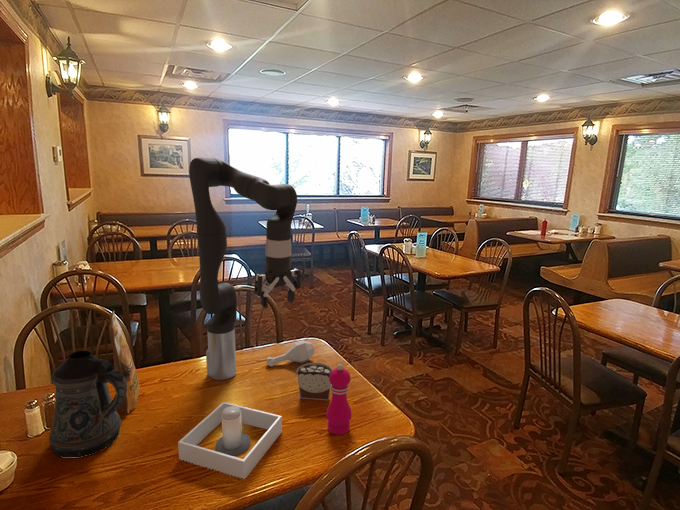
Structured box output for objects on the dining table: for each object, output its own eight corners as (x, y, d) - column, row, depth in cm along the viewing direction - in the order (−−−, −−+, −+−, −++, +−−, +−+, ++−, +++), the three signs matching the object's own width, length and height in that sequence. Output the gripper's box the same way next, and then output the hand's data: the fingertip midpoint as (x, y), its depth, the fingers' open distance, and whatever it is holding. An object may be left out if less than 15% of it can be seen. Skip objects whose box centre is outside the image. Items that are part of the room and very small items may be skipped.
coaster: (208, 451, 107) (208, 449, 107) (228, 431, 115) (228, 429, 115) (238, 460, 104) (238, 458, 104) (256, 438, 113) (256, 436, 112)
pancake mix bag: (110, 419, 119) (100, 330, 113) (119, 386, 137) (111, 307, 131) (136, 415, 122) (127, 327, 116) (142, 383, 139) (134, 305, 133)
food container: (335, 390, 137) (336, 363, 135) (333, 400, 131) (333, 372, 129) (299, 387, 138) (299, 360, 136) (295, 397, 132) (295, 369, 130)
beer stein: (58, 428, 115) (46, 345, 110) (135, 413, 123) (127, 335, 117) (43, 467, 100) (28, 374, 95) (131, 447, 108) (122, 360, 103)
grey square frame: (179, 459, 104) (178, 442, 103) (224, 416, 122) (223, 401, 121) (244, 479, 98) (244, 461, 97) (281, 431, 116) (281, 416, 115)
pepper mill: (354, 423, 120) (356, 360, 116) (346, 438, 113) (348, 372, 109) (331, 418, 122) (332, 356, 118) (322, 432, 116) (323, 367, 111)
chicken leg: (265, 361, 158) (262, 347, 153) (309, 347, 163) (308, 333, 158) (271, 378, 152) (268, 364, 147) (316, 362, 157) (315, 349, 152)
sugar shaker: (219, 446, 108) (217, 414, 106) (230, 435, 113) (228, 404, 111) (235, 451, 107) (233, 418, 105) (245, 439, 111) (244, 408, 109)
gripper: (293, 247, 127) (292, 296, 131) (250, 252, 119) (250, 304, 123) (305, 253, 121) (304, 304, 125) (261, 259, 113) (261, 313, 117)
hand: (277, 304), depth 124 cm, fingers open, 8 cm apart
